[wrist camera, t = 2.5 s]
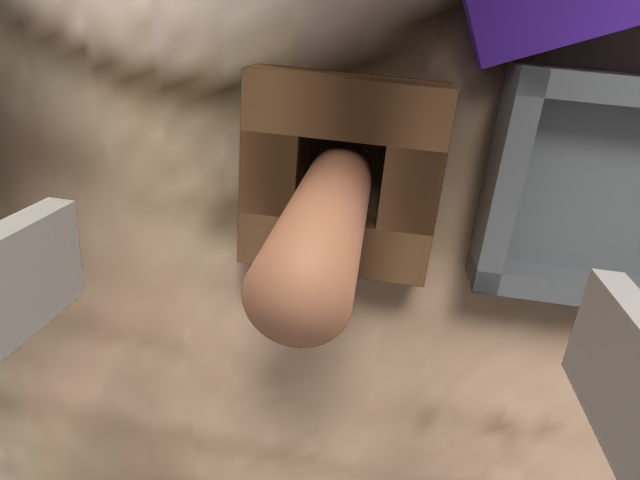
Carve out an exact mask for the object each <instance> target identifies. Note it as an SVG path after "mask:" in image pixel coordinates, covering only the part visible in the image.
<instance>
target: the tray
mask: <svg viewBox="0 0 640 480" xmlns="http://www.w3.org/2000/svg"><path fill="white" fill-rule="evenodd" d="M591 268H593V269H601V270H608V271H616V272H624V273H626V275H627V276H628V277H629V278H630V279H631V280H632V281H633V282H634V283H635V284H636V285H637V287H638V288H639V289H640V74H638V73H627V72H616V71H606V70H595V69H585V68H574V67H563V66H553V65H542V64H531V63H521V62H509V63H508V68H507V72H506V77H505V82H504V86H503V91H502V96H501V101H500V105H499V110H498V115H497V120H496V124H495V129H494V134H493V139H492V143H491V148H490V153H489V158H488V162H487V167H486V172H485V176H484V181H483V186H482V191H481V195H480V200H479V205H478V210H477V214H476V219H475V224H474V229H473V233H472V238H471V243H470V248H469V252H468V257H467V262H466V266H465V269H466V272H467V276H468V280H469V283H470V287H471V290H472V293H480V294H487V295H495V296H502V297H510V298H517V299H525V300H532V301H540V302H547V303H555V304H562V305H570V306H577V307H579V306H580V303H581V300H582V297H583V293H584V290H585V287H586V284H587V281H588V277H589V274H590V271H591Z"/></svg>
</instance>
